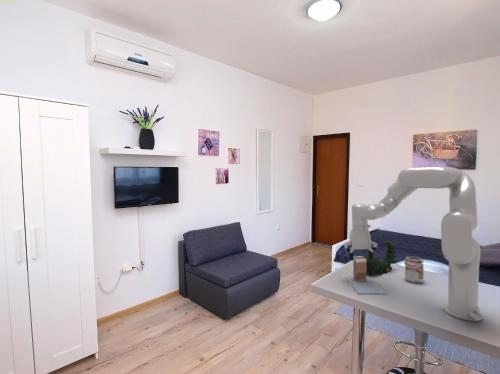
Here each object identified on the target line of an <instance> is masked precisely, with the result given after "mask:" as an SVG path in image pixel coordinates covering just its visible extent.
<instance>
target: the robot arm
mask: <svg viewBox="0 0 500 374" xmlns="http://www.w3.org/2000/svg"><path fill="white" fill-rule="evenodd" d="M445 188H446V189H448V191H449V196H448V197H449V198H448V201H449V202H448V203H449V212H447V213H446V214H445V215H444V216H443V217H442V219H441V223H440V231H441V232H440V234H441V235H440V236H441V238H440V240H441V251H442V255H443V258H444V259H446V261H448V281H447V282H448V283H447V285H448V290H447V291H448V292H447V297H448V298H447V300H448V301H447V303H444V305H443V310H444V312H445V313H447V314H448V315H450V316H452V317H454V318H457V319H460V320H463V321H464V320H465V321H468V322H471V321H472V322H478V321H482V320H483V319H484V318H485V316H484V315H483V313H482V312H481V309H480V307H479V279H480V276H479V275H480V261H481V254H482V253H481V252H482V251H481V245H480V244H479V242H478V241H477V239H475V238H473V231H474V230H475V229H477V227H478V212H477V211H478V210H477V195H476V193H477V191H476V186H475V183H474V180H473V179H472V177H471V176H470V175H469V174H468V173H466V172H465V171H463V170H461V169H459V168H456V167H450V166H449V167H448V166H445V167H444V166H441V167H440V166H436V167H406V168H404V169H402V170H400V172H399V173H398V176H397V180H395V181H394V182H393V183H392V184H391V185H389V187H388V188H387V194H386V195H385V196H384V197H383V198H382V199H381V200H380V201H379V202H377V203H373V204H367V205H366V204H363V203H354V204H353V205H352V206H351V221H352V223H351V225H352V227H351V228H352V229H350V232H349V233H350V234H349V241H347V242H346V243H344V244H343V246H344V248H345V250H346V251H347V252H348V256H349V260H351V261H352V262H353V260H354V259H353V256H354V253H353V252H355V250H356V251H357V250H368V252H367V253H368V254H367V255H368V258H369V259H370V260H372V258H373V255H374V252H375V250H376V249H377V247H378V246H379V245H378V243H377V242H375V241H374V240H373V241H372V238H371V237H372V236H371V234H370V230H369V229H370V228H371V225H370V224H368V220H369V221H375V220H379V219H382V218H385V217H386V216H387V215H389V214H390V213H391V212H393V211H394V210H395V209H396V208H397V207H398V206H399V205H400V204H401V203H402V202H403V201H404V200H405V199H407V198H408V197H409V196H410V195H411V194H413V193H414V192H415V191H416V190H418V189H445ZM372 245H373V246H372ZM348 246H349V247H350V248H349V247H348Z"/></svg>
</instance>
